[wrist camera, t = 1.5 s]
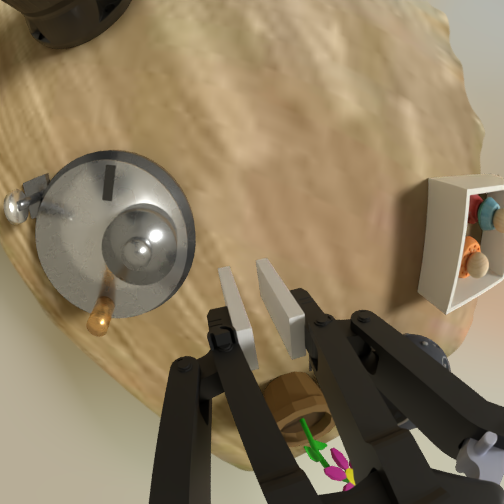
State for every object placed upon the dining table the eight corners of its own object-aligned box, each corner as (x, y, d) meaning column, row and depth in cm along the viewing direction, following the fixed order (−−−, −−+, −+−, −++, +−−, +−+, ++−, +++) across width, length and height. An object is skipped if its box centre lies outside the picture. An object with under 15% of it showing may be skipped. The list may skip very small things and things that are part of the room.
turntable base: (25, 178, 27) (18, 181, 25) (177, 131, 30) (177, 130, 29) (74, 318, 36) (70, 326, 34) (210, 292, 39) (211, 300, 37)
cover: (102, 212, 28) (87, 226, 23) (169, 195, 29) (165, 207, 24) (122, 275, 31) (112, 299, 26) (184, 261, 33) (184, 284, 28)
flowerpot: (334, 374, 53) (405, 489, 26) (289, 414, 55) (337, 526, 28) (286, 354, 47) (360, 504, 20) (238, 401, 50) (279, 539, 22)
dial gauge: (26, 182, 27) (-4, 193, 21) (48, 173, 28) (19, 182, 21) (34, 216, 29) (7, 234, 23) (56, 209, 30) (30, 226, 23)
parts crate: (428, 177, 40) (467, 189, 32) (489, 173, 44) (519, 182, 36) (417, 292, 50) (445, 314, 41) (478, 264, 53) (503, 279, 45)
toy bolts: (456, 279, 53) (493, 305, 41) (423, 255, 47) (469, 284, 35) (487, 213, 48) (526, 230, 37) (459, 175, 42) (509, 190, 31)
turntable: (43, 155, 25) (15, 160, 19) (200, 169, 31) (202, 176, 25) (46, 300, 32) (29, 326, 26) (178, 319, 37) (179, 350, 31)
